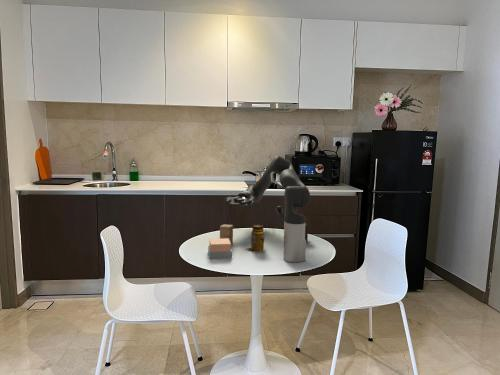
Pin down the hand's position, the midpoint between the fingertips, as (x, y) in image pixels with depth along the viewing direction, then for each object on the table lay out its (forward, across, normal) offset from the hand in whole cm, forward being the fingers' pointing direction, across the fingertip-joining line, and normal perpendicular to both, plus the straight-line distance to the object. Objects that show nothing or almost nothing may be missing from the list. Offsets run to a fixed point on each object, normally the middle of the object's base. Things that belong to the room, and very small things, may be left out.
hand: (234, 203), depth 200 cm
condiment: (+13, +16, +20) cm, 29 cm away
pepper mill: (-10, +28, +20) cm, 36 cm away
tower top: (+27, +3, +16) cm, 32 cm away
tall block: (+11, 0, +20) cm, 23 cm away
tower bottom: (+27, +3, +20) cm, 33 cm away
